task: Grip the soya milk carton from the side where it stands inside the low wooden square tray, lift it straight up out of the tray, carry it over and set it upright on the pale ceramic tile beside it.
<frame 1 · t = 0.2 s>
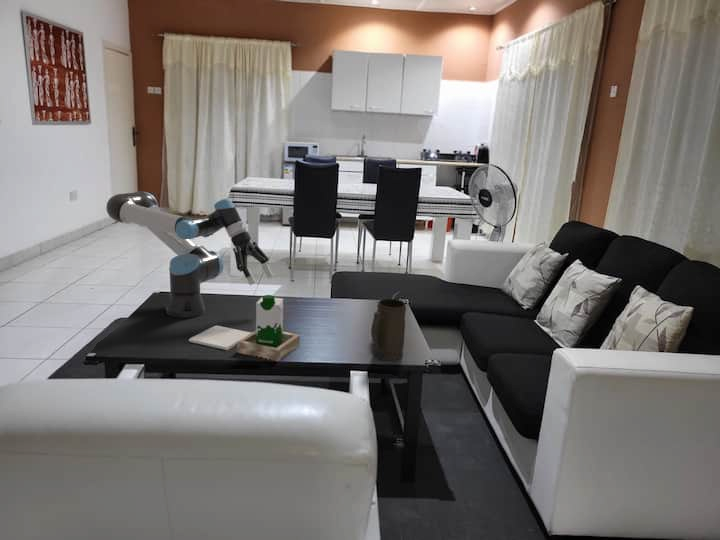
hand: (262, 280, 216), 15 cm above the table, tool tilted 35°, fingers open, 13 cm apart
wooden square tray: (269, 348, 186), on the table
mate gourd: (386, 323, 220), on the table
canned food: (388, 338, 203), on the table
beer stein: (384, 357, 185), on the table
soya milk: (269, 349, 186), resting in wooden square tray
tile: (221, 338, 192), on the table
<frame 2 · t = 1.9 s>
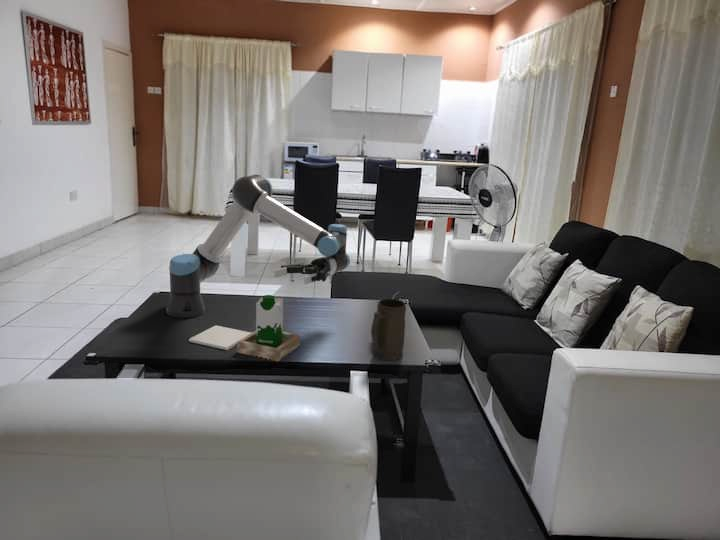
hand: (289, 277, 189), 24 cm above the table, tool horizontal, fingers open, 13 cm apart
nothing on the table moved.
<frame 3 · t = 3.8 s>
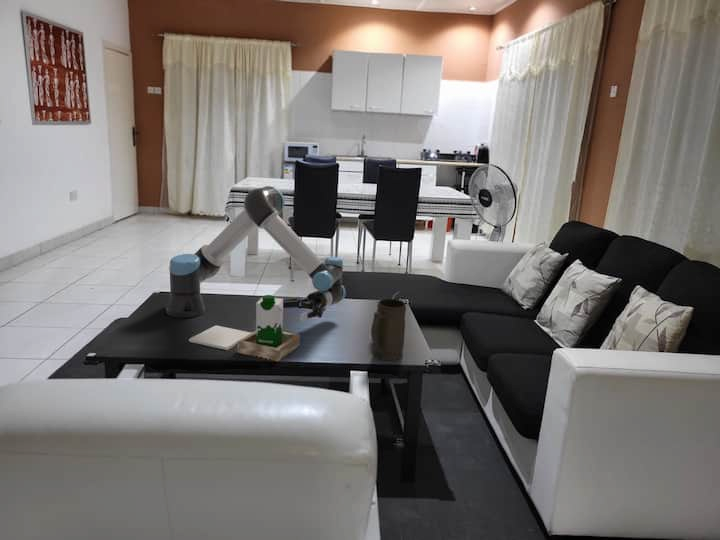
hand: (285, 313, 190), 11 cm above the table, tool horizontal, fingers open, 13 cm apart
nothing on the table moved.
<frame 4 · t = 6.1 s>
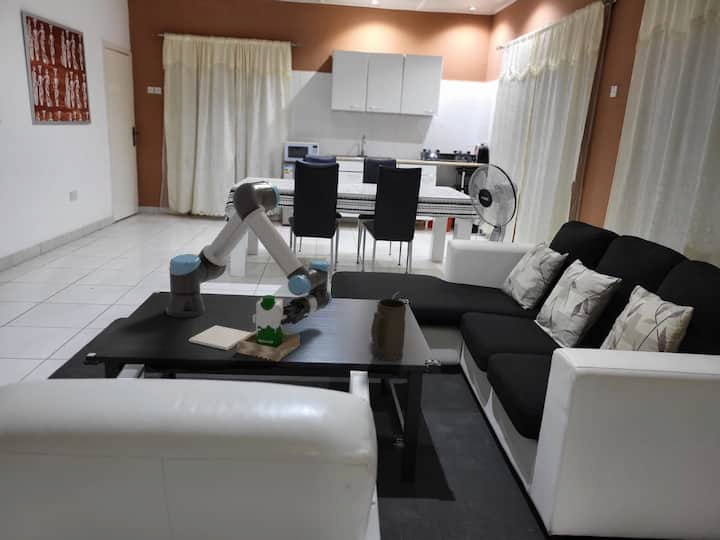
hand: (263, 321, 181), 11 cm above the table, tool horizontal, fingers closed on soya milk, 8 cm apart
soya milk: (269, 349, 186), resting in wooden square tray, touching gripper
everything else where it was.
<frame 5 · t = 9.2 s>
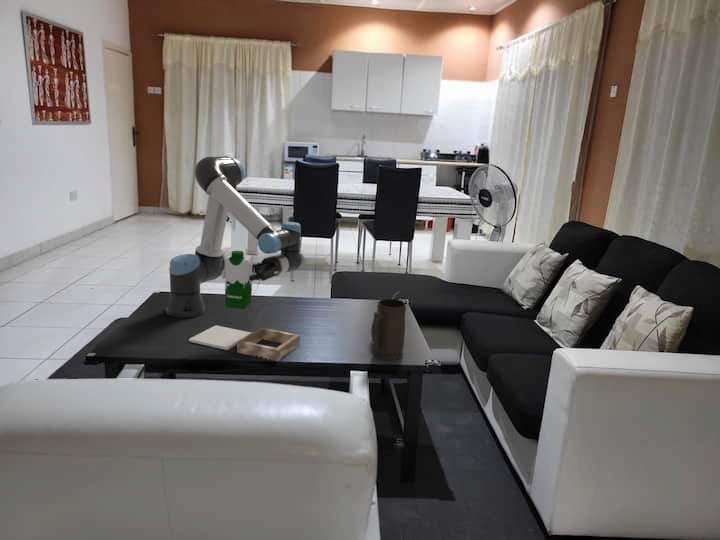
hand: (232, 277, 181), 25 cm above the table, tool horizontal, fingers closed on soya milk, 8 cm apart
soya milk: (238, 305, 187), point 14 cm above the table, touching gripper
everything else where it was.
when the fingers open (13 cm above the table, at t = 12.5 s): soya milk moves 3 cm, resting on tile.
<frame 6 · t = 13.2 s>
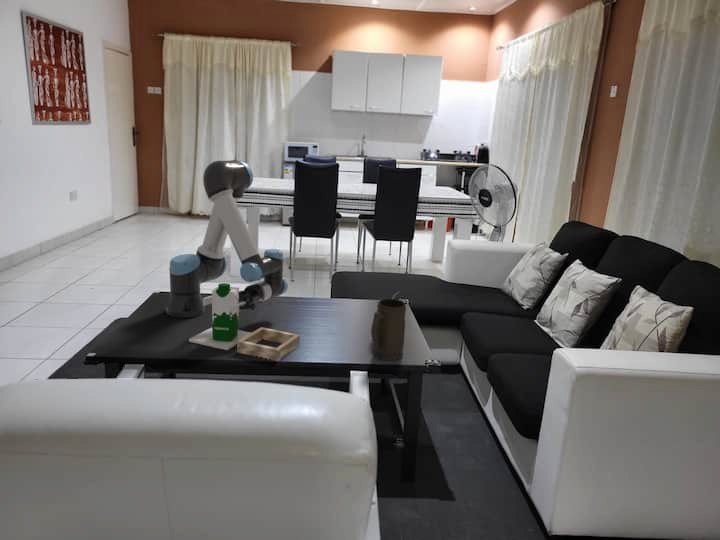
hand: (217, 305, 188), 13 cm above the table, tool horizontal, fingers open, 13 cm apart
soya milk: (225, 337, 190), point 1 cm above the table, touching gripper, tile
everything else where it was.
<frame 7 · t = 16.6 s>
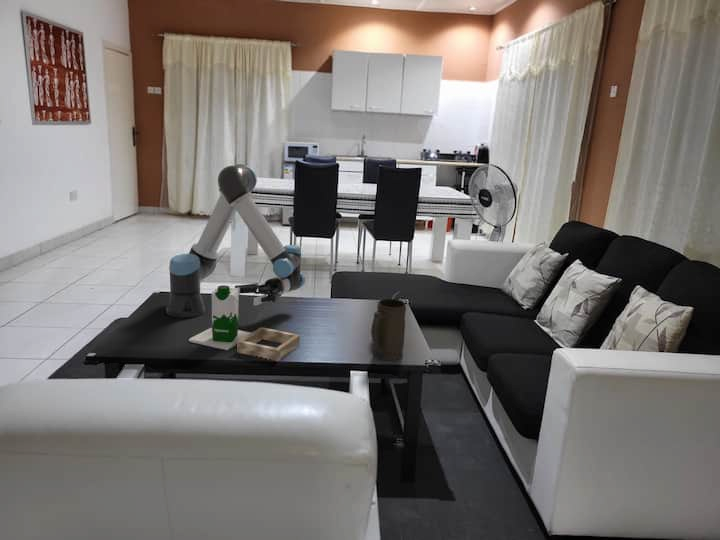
hand: (240, 298, 198), 13 cm above the table, tool horizontal, fingers open, 13 cm apart
soya milk: (225, 338, 190), point 1 cm above the table, touching tile
everything else where it was.
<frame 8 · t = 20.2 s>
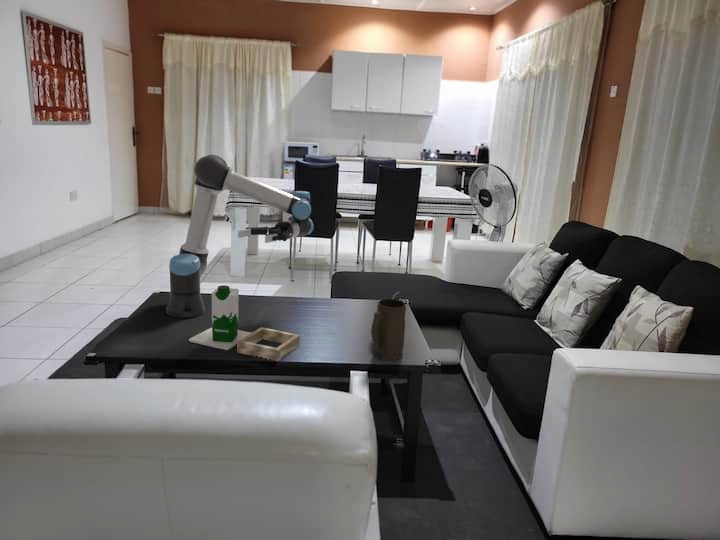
hand: (252, 236, 202), 35 cm above the table, tool horizontal, fingers open, 13 cm apart
nothing on the table moved.
at the end: soya milk inside the target area on the tile (2.9 cm from its centre), point 0.8 cm above the tile's base; soya milk tilted 0°; the gripper is holding nothing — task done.
